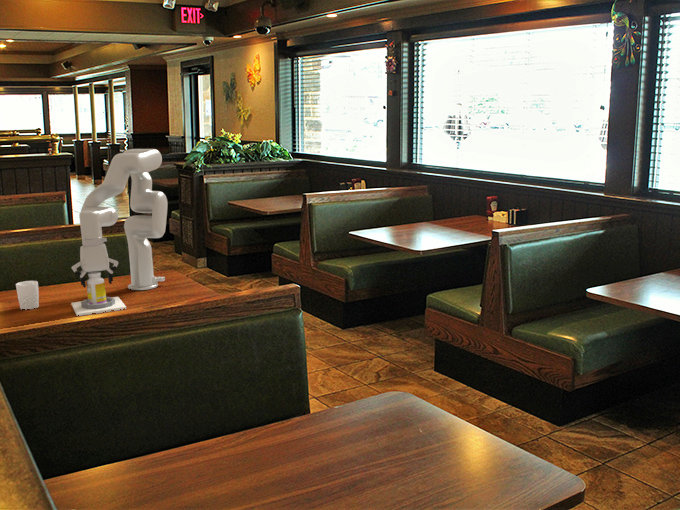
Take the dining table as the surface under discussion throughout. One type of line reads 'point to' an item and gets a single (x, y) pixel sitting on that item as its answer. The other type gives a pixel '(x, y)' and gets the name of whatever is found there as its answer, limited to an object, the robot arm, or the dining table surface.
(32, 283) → the white cup
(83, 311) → the mount board
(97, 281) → the supplement bottle
